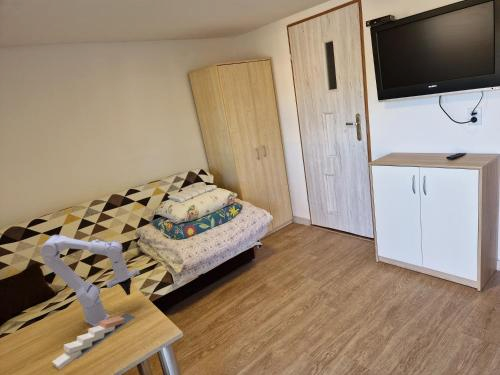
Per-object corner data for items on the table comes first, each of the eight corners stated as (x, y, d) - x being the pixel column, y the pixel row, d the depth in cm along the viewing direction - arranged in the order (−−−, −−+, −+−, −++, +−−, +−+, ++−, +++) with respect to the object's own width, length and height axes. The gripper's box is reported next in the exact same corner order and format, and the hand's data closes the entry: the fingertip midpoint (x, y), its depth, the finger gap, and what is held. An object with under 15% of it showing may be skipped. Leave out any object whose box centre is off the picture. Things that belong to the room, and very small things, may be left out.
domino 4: (108, 326, 151) (88, 333, 143) (108, 322, 151) (88, 328, 144) (114, 330, 148) (94, 336, 140) (114, 325, 148) (94, 332, 140)
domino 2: (75, 349, 140) (53, 365, 133) (74, 345, 139) (52, 361, 132) (81, 353, 137) (59, 370, 130) (80, 349, 136) (57, 366, 129)
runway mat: (68, 353, 139) (68, 352, 139) (125, 313, 159) (125, 312, 159) (78, 359, 134) (78, 358, 134) (135, 317, 154) (135, 317, 154)
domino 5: (118, 319, 154) (99, 325, 147) (118, 315, 154) (99, 321, 147) (124, 322, 151) (105, 328, 144) (124, 318, 151) (105, 324, 144)
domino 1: (85, 342, 143) (63, 349, 136) (86, 338, 143) (63, 344, 136) (91, 346, 140) (69, 353, 133) (92, 341, 140) (69, 348, 133)
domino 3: (97, 334, 147) (76, 340, 140) (98, 330, 147) (76, 336, 140) (104, 337, 144) (82, 344, 137) (104, 333, 144) (82, 340, 137)
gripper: (132, 258, 161) (139, 283, 165) (101, 272, 153) (109, 298, 157) (137, 262, 156) (145, 288, 160) (105, 277, 148) (114, 304, 151)
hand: (128, 294), depth 158 cm, fingers closed
